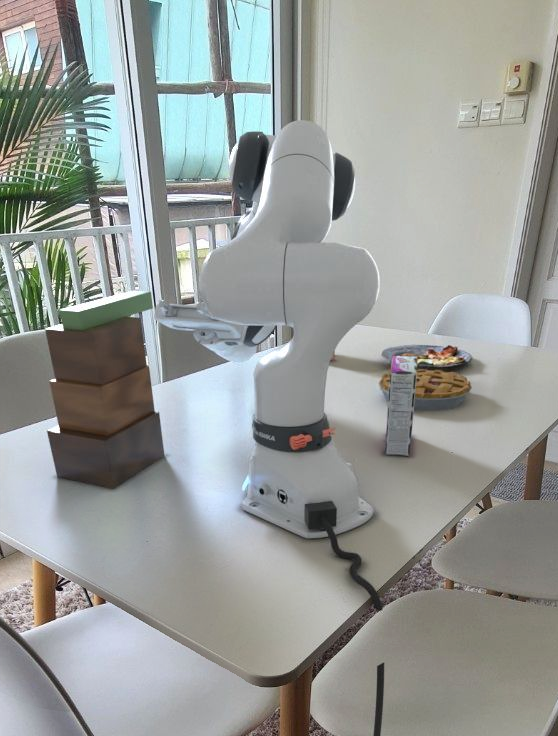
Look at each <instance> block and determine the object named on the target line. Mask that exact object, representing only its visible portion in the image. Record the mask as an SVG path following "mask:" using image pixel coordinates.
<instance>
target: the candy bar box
mask: <svg viewBox="0 0 558 736" xmlns="http://www.w3.org/2000/svg"><path fill="white" fill-rule="evenodd" d="M417 370H418V367H417V357H414V356H393V358H392V361H391V366H390V370H389V373H390V382H389V397H388V402H387V415H386V432H385V451H384V454H385V455H386V456H395V457H396V456H399V457H410V454H411V445H412V435H413V422H414V414H415V413H414V412H415V409H414V401H415V388H416V376H417Z"/></svg>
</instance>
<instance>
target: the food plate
mask: <svg viewBox="0 0 558 736" xmlns="http://www.w3.org/2000/svg"><path fill="white" fill-rule="evenodd" d="M458 348H459V346H452V345H451V344H447V345H446V346H443V345H428V344H403V345H397V346H391V347H387V348H385V349H383V350H382V352H381V357H382V358H384V359H385V360H388V361H391V362H392V358H393V356H414V357H417V368H418V367H422V368H423V367H426V368H427V369H430V367H434V368H452V367H457V366H464V365H465V364H469V363H470V362H471V361H472V359H473V356H472V354H471V353H468V352H467V351H465V350H463V349H458Z"/></svg>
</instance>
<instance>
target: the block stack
mask: <svg viewBox="0 0 558 736" xmlns="http://www.w3.org/2000/svg"><path fill="white" fill-rule="evenodd" d="M142 325H143V324H142V317H137V316H127V317H124V318H121V319H117V320H114V321H111V322H108V323H104V324H101V325H98V326H95V327H92V328H88V329H85V330H82V331H81V330H71V329H63V326H62V323H61V324H57V325H54V326H53V325H52V326H51V327H50V326H49V327H46V328H45V329H44V331H45V336H46V342H47V346H48V351H49V355H50V359H51V365H52V371H53V374H54V375H53V376H54V378H53V379H51V380H49V381H48V382H49V387H50V391H51V396H52V401H53V405H54V411H55V415H56V420H57V424H58V425H56V426H53V427H52V428H50V429H48V430H46V433H47V437H48V438H47V439H48V442H49V447H50V451H51V456H52V461H53V465H54V469H55V474H56V477H57V478H62V479H66V480H71V481H74V482H79V483H84V484H89V485H92V486H93V485H94V486H99V487H104V488H108V489H116V488H117V487H119V486H120V485H122V484H123V483H125V482H126V481H128V480H130V479H131V478H132V477H134V476H136V475H137V474H139V473H141V472H142V471H143V470H145V469H147V468H148V467H150V466H151V465H153V464H155V463H156V462H157V461H159V460H160V459H162V458H164V457H165V449H164V441H163V439H164V438H163V433H162V432H163V431H162V423H161V415H160V411H156V410H155V402H154V394H153V385H152V378H151V370H150V366H149V365H147V356H146V349H145V340H144V332H143V326H142Z"/></svg>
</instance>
